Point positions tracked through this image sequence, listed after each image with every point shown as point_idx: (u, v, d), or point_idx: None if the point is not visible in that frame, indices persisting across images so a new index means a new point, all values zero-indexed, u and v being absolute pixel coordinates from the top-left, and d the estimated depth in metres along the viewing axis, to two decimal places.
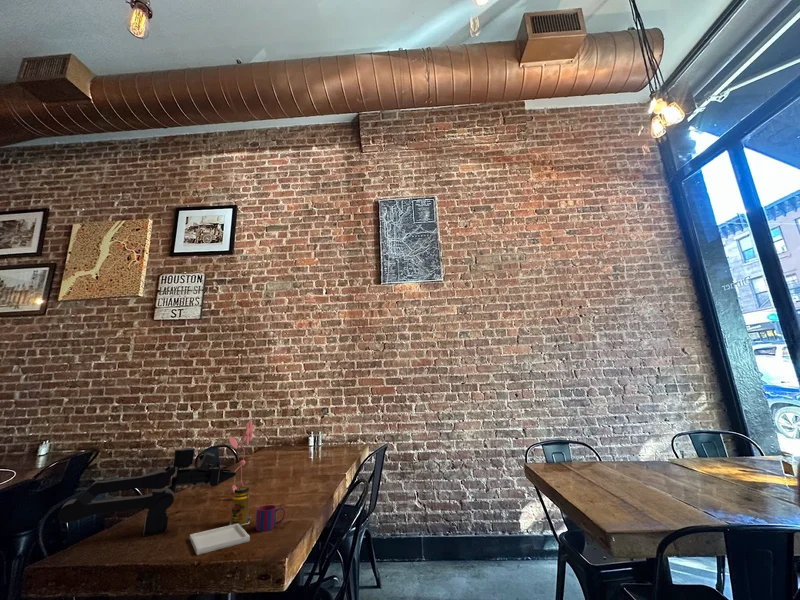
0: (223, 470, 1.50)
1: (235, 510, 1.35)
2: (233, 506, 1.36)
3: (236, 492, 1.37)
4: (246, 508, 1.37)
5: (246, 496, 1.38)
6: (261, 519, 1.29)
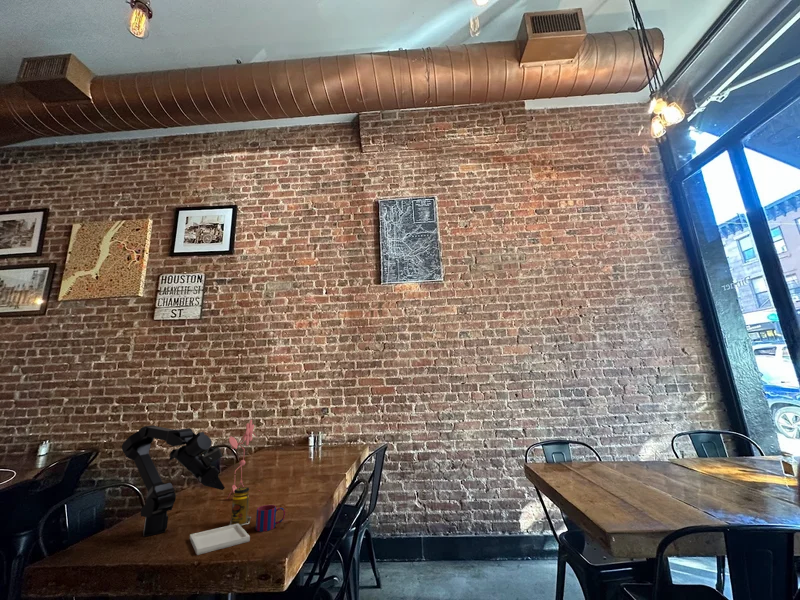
0: None
1: (235, 510, 1.35)
2: (233, 506, 1.36)
3: (236, 492, 1.37)
4: (246, 508, 1.37)
5: (246, 496, 1.38)
6: (261, 519, 1.29)
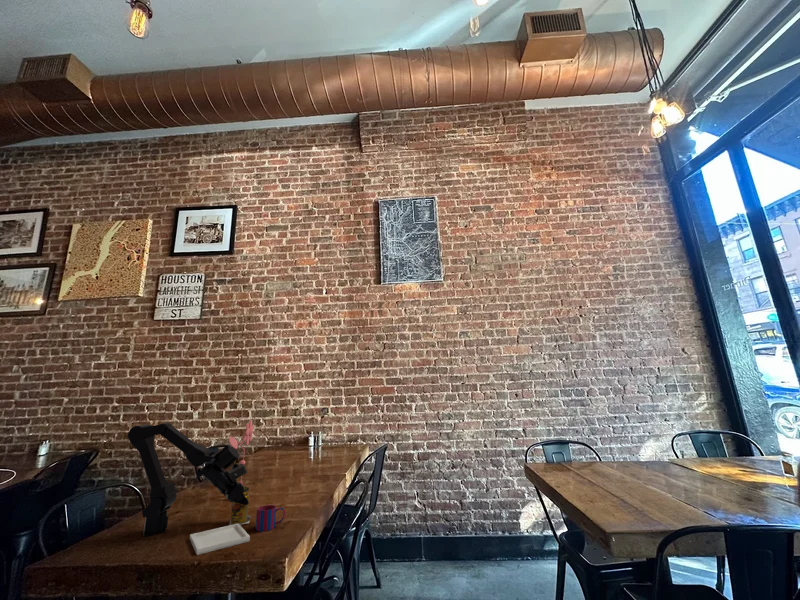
0: None
1: (235, 509, 1.36)
2: (233, 505, 1.37)
3: None
4: (246, 507, 1.38)
5: (246, 495, 1.39)
6: (261, 519, 1.29)
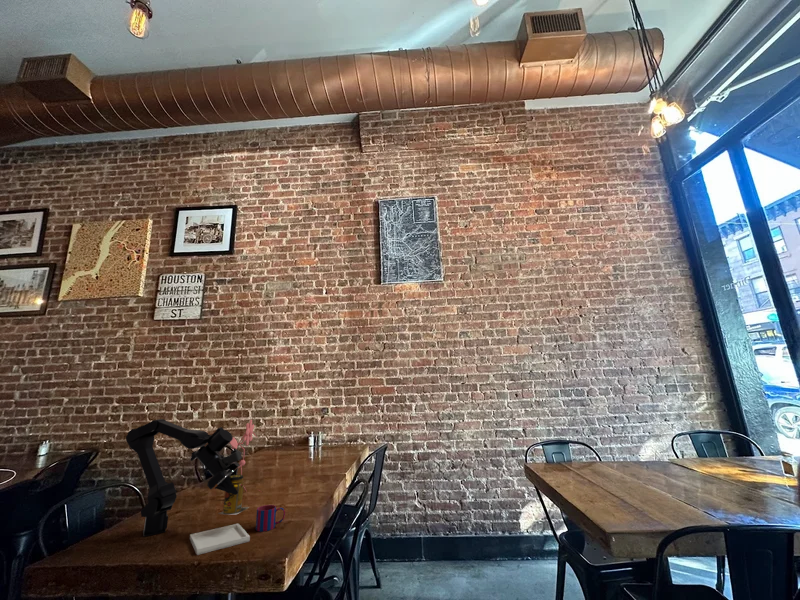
0: None
1: (225, 497, 1.29)
2: (225, 493, 1.30)
3: None
4: (236, 497, 1.29)
5: (237, 484, 1.30)
6: (261, 519, 1.29)
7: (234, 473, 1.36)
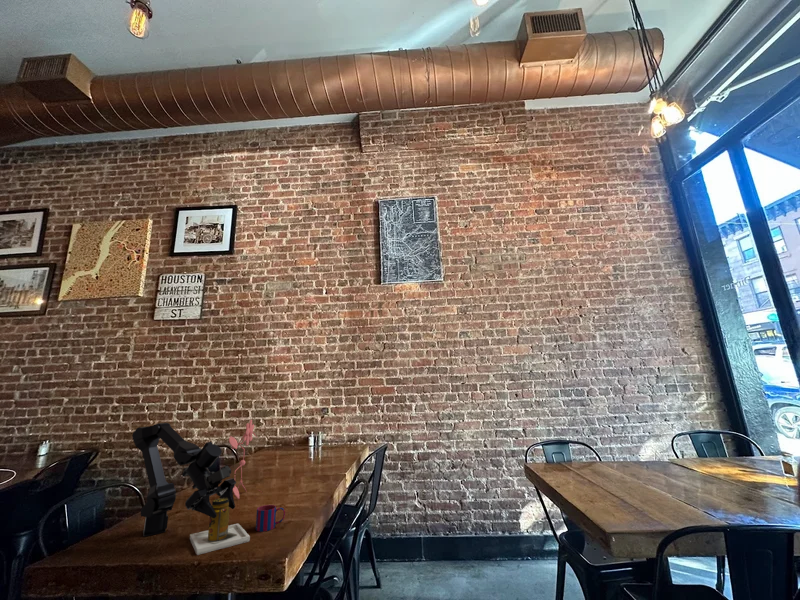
0: (230, 500, 1.28)
1: (209, 523, 1.21)
2: None
3: None
4: (217, 524, 1.20)
5: (218, 510, 1.21)
6: (261, 519, 1.29)
7: (228, 490, 1.30)
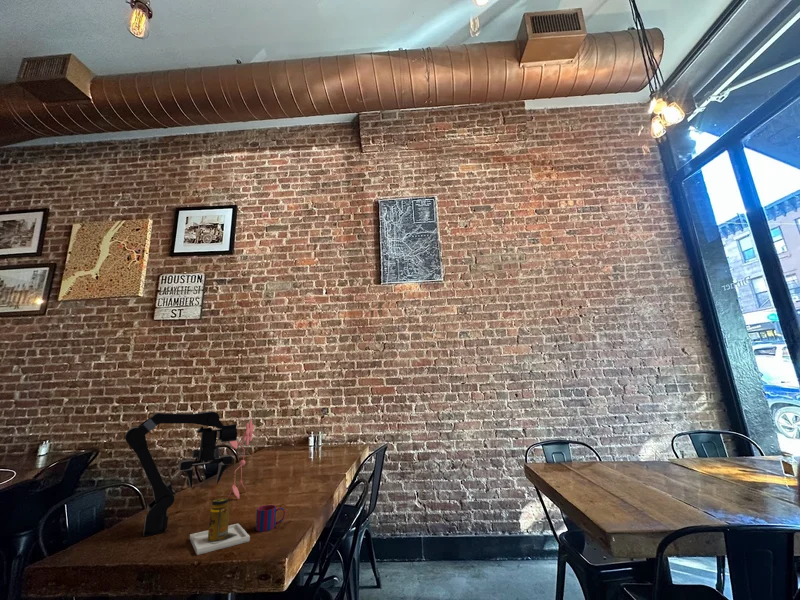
0: None
1: (209, 523, 1.21)
2: None
3: (212, 502, 1.23)
4: (217, 524, 1.20)
5: (218, 510, 1.21)
6: (261, 519, 1.29)
7: None
